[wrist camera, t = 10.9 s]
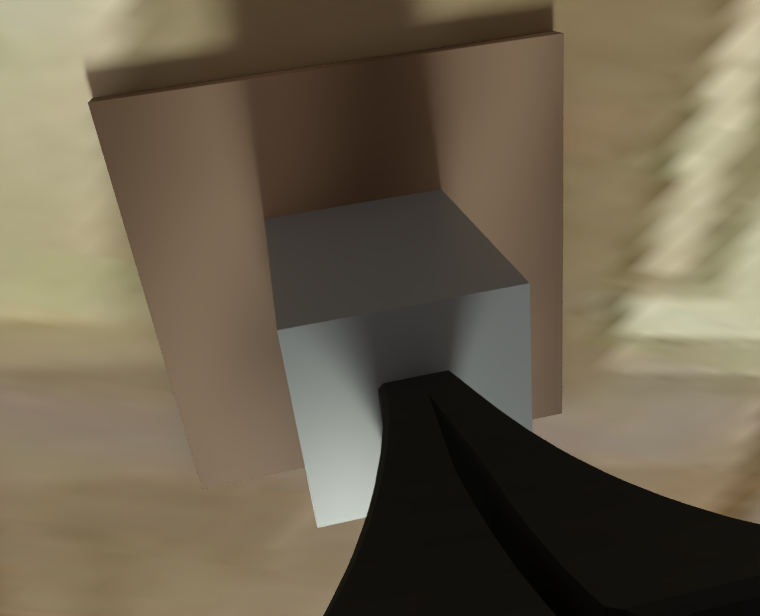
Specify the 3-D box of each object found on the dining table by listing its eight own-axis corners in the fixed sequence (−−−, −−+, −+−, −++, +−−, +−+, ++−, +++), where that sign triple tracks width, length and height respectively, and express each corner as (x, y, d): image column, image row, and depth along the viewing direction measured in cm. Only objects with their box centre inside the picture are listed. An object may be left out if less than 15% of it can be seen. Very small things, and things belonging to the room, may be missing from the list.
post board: (553, 31, 17) (682, 56, 12) (553, 402, 22) (646, 527, 17) (92, 98, 16) (28, 156, 11) (203, 475, 21) (193, 633, 16)
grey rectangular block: (441, 189, 18) (529, 283, 12) (453, 342, 20) (533, 480, 14) (264, 218, 17) (276, 330, 12) (294, 373, 19) (317, 527, 14)
